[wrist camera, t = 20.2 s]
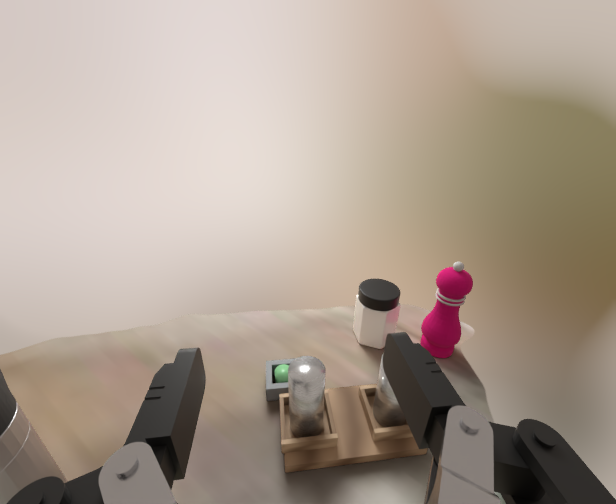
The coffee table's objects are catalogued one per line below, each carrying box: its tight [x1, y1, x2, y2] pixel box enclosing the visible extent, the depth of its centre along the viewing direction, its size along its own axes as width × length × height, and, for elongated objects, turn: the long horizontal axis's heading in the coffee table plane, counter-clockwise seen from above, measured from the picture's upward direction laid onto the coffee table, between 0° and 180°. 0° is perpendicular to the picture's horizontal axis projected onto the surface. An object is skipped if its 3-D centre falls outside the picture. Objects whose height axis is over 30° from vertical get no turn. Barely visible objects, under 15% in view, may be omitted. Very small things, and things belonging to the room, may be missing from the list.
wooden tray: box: [279, 384, 428, 473], centre depth 44 cm, size 21×11×4 cm, turn 97°
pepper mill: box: [421, 262, 473, 358], centre depth 55 cm, size 7×7×20 cm
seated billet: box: [373, 353, 406, 428], centre depth 42 cm, size 5×5×11 cm
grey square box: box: [266, 359, 295, 401], centre depth 50 cm, size 6×6×3 cm
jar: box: [353, 279, 400, 349], centre depth 60 cm, size 9×8×12 cm
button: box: [275, 364, 289, 383], centre depth 50 cm, size 3×3×3 cm
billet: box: [288, 356, 325, 438], centre depth 40 cm, size 5×5×11 cm
